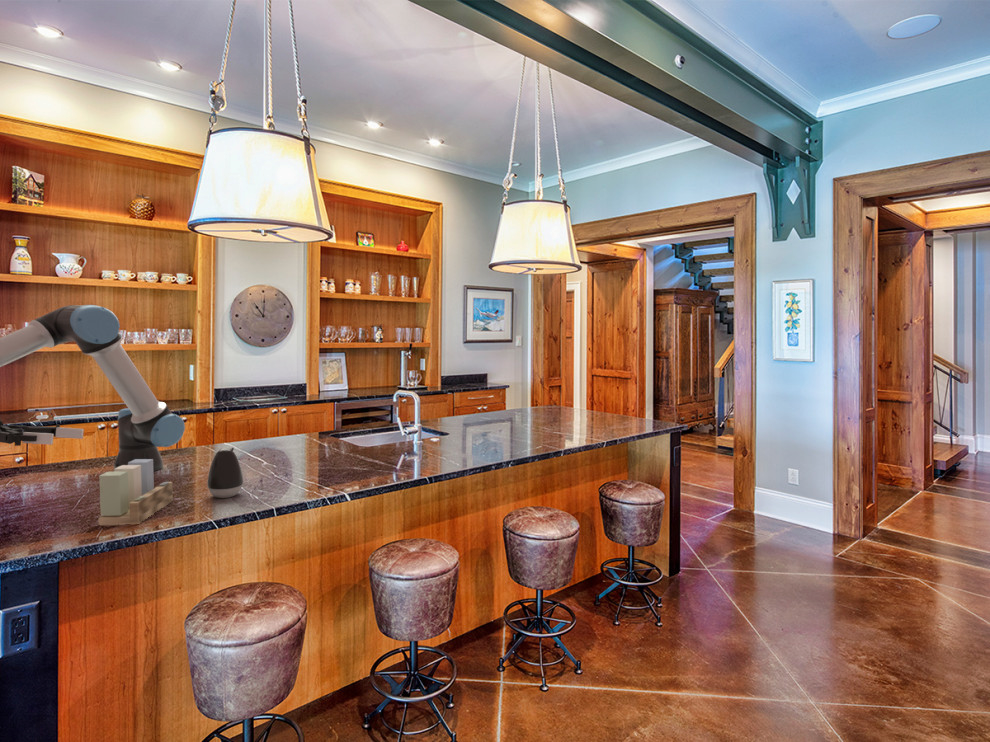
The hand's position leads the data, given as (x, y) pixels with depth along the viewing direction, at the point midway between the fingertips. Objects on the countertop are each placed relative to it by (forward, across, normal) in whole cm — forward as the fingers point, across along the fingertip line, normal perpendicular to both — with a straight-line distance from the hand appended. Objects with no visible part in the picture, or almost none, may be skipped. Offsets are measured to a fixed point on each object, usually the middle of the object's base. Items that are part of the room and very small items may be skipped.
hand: (68, 436), depth 147 cm
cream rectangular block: (+14, -7, -19) cm, 25 cm away
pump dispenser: (+36, -21, -19) cm, 45 cm away
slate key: (+14, -14, -19) cm, 27 cm away
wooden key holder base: (+16, -7, -21) cm, 28 cm away
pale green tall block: (+13, 0, -20) cm, 24 cm away
